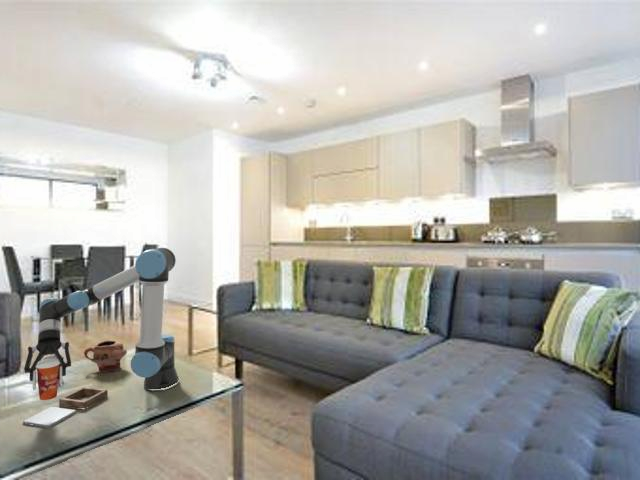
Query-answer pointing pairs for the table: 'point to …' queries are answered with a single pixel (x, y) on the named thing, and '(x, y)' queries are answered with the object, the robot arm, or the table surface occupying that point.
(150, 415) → the table surface
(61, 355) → the coffee mug
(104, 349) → the decorative planter
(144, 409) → the table surface
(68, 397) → the walnut collar
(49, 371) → the paper cup
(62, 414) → the slate pad
